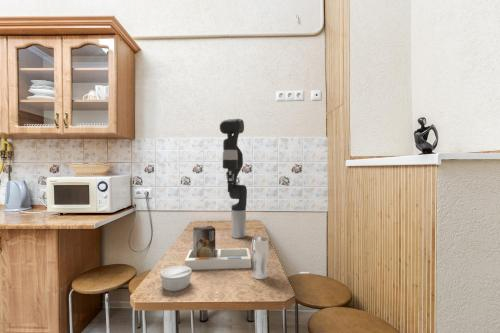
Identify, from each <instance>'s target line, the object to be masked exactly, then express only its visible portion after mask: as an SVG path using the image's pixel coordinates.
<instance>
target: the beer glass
mask: <svg viewBox="0 0 500 333" xmlns="http://www.w3.org/2000/svg"><path fill="white" fill-rule="evenodd" d="M269 244H270V243H269V238H268V237H265V236H264V237H263V236H255V237H252V239H251V249H250V250H251V261H252V263H253V266H252V267H253V269H252V274H251V275H252V278H253V279H256V280H261V281H262V280H265V279H267V278H268V270H267V265H268V260H269V253H270V251H269V250H270V247H269Z"/></svg>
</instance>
